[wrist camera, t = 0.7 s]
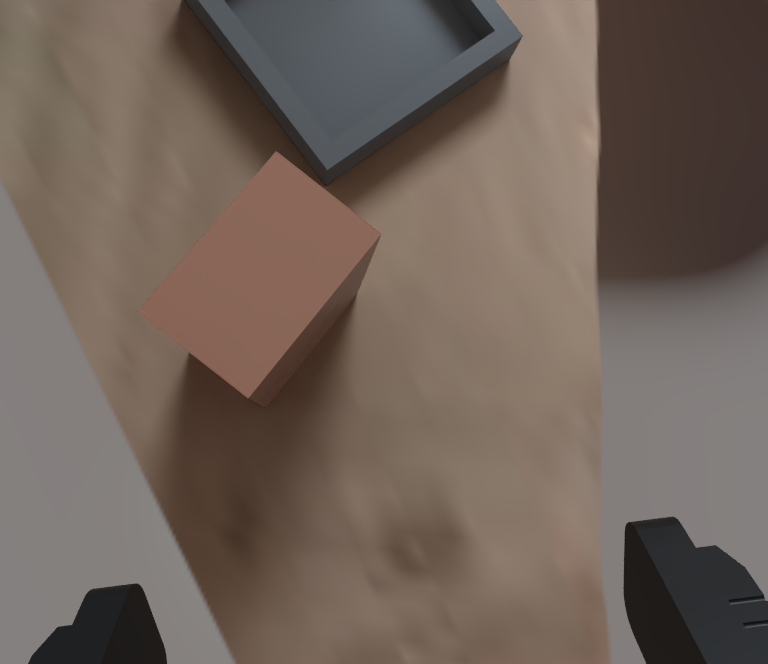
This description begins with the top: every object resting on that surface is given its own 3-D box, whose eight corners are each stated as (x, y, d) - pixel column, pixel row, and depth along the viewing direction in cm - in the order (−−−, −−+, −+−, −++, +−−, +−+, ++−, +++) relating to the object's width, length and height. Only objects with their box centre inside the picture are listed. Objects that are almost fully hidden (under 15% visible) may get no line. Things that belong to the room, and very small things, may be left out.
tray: (182, -4, 36) (174, -31, 34) (372, -119, 38) (376, -152, 36) (325, 185, 35) (327, 169, 33) (510, 58, 37) (522, 36, 35)
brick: (190, 349, 34) (136, 311, 23) (284, 237, 35) (275, 151, 24) (265, 408, 34) (248, 398, 23) (356, 294, 35) (381, 233, 24)
